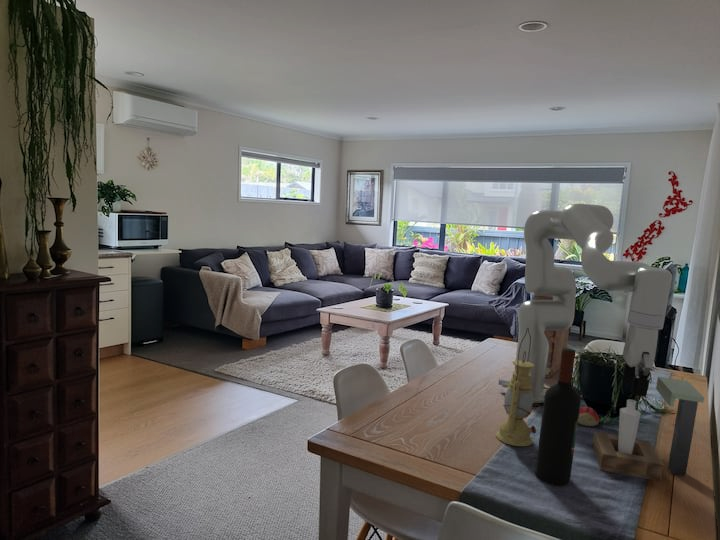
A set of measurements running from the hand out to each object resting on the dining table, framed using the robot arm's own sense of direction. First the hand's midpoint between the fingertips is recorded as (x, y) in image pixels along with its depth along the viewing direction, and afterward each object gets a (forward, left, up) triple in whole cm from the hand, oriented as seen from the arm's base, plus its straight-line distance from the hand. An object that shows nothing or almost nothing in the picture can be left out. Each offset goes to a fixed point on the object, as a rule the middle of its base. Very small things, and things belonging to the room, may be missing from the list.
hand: (633, 387), depth 128 cm
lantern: (-26, +1, -19) cm, 32 cm away
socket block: (0, -1, -19) cm, 19 cm away
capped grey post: (+10, -1, -19) cm, 21 cm away
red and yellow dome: (-5, +24, -20) cm, 31 cm away
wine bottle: (-18, -16, -19) cm, 30 cm away
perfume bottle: (0, 0, -19) cm, 18 cm away
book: (-14, +72, -19) cm, 76 cm away
